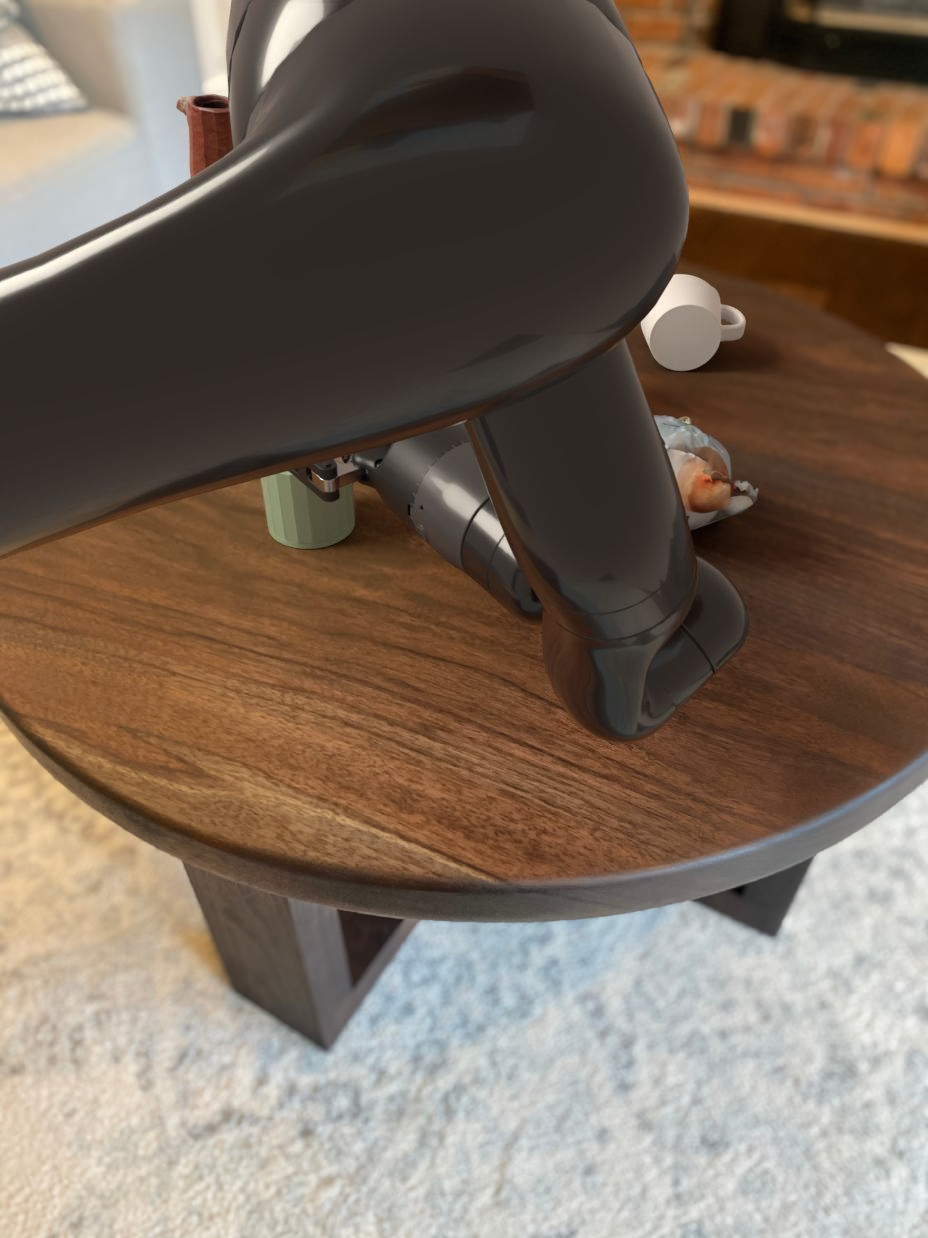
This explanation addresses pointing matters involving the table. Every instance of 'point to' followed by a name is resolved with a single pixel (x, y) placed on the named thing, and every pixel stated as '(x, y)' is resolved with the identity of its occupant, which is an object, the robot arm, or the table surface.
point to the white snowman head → (703, 473)
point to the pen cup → (305, 513)
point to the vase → (207, 129)
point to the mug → (689, 324)
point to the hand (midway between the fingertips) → (340, 394)
